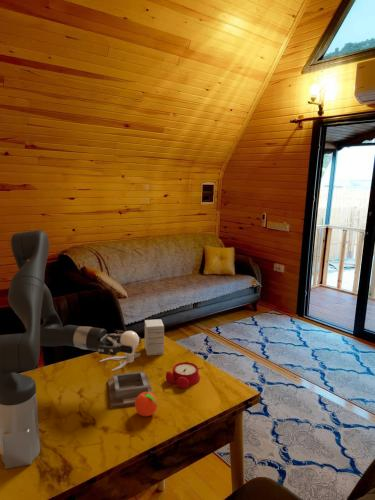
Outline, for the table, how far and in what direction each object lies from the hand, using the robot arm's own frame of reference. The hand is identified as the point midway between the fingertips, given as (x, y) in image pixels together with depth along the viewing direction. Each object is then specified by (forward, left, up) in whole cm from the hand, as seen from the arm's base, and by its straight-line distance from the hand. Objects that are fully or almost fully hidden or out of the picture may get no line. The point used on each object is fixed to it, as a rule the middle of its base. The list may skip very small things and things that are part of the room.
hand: (136, 345), depth 122 cm
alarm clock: (+4, -17, -18) cm, 25 cm away
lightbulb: (+1, +2, -7) cm, 7 cm away
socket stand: (+1, +2, -17) cm, 17 cm away
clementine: (-13, -2, -17) cm, 22 cm away
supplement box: (+28, -11, -17) cm, 35 cm away
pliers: (+23, +3, -18) cm, 29 cm away
